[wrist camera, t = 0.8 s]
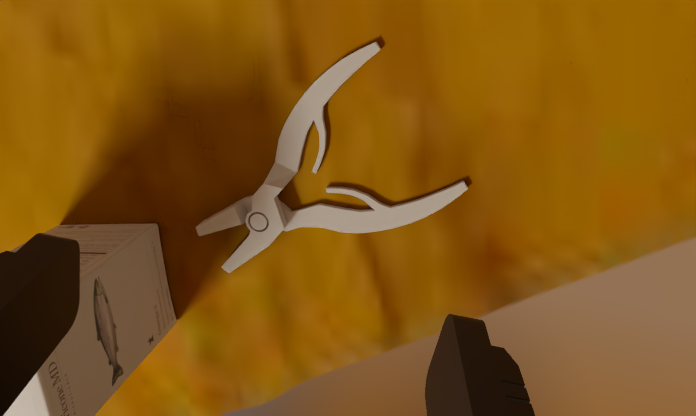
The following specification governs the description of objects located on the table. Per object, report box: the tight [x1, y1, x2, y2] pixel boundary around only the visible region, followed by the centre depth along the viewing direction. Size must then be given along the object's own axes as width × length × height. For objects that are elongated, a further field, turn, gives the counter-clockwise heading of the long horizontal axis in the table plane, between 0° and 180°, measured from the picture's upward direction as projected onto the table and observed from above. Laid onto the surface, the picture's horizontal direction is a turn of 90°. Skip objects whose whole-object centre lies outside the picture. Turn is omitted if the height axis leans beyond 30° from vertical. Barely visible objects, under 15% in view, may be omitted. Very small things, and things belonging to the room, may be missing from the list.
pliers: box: [195, 42, 468, 273], centre depth 34 cm, size 10×2×15 cm
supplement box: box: [3, 223, 177, 416], centre depth 32 cm, size 7×7×13 cm
